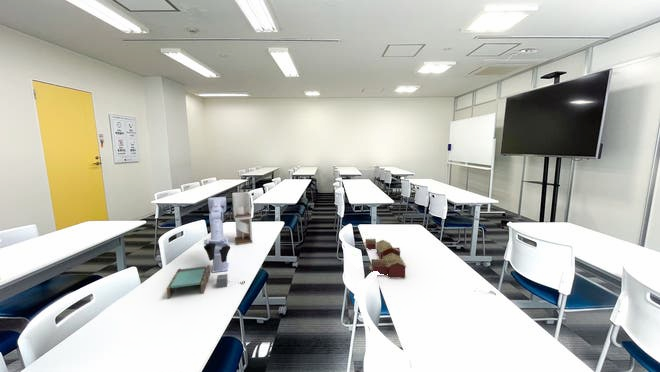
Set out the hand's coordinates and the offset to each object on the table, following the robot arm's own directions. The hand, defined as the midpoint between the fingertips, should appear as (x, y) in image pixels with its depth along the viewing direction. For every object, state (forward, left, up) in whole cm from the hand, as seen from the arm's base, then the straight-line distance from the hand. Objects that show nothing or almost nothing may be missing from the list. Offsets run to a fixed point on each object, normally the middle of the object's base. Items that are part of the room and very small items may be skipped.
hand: (217, 260), depth 124 cm
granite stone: (-2, +1, -14) cm, 14 cm away
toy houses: (-6, +90, -14) cm, 92 cm away
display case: (-62, +9, -14) cm, 64 cm away
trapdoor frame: (-7, -14, -14) cm, 21 cm away
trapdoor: (-6, -14, -11) cm, 18 cm away
